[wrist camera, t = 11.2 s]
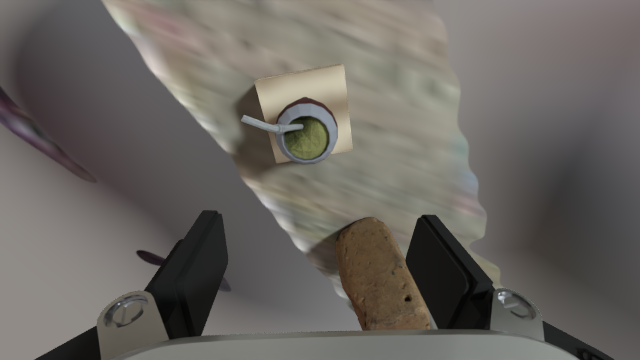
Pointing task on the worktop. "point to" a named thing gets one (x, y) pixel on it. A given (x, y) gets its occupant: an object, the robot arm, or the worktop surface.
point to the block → (378, 279)
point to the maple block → (312, 84)
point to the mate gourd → (302, 130)
